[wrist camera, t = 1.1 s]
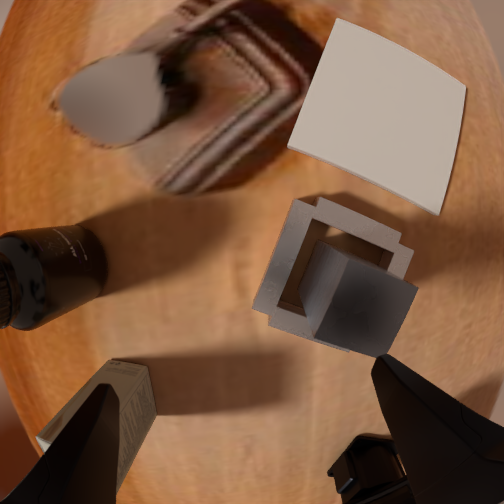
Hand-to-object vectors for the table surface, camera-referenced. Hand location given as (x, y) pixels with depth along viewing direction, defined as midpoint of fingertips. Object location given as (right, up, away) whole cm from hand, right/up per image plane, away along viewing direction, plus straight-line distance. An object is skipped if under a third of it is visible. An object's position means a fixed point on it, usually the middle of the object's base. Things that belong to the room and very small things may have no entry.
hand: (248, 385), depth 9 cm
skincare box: (-11, -9, +16) cm, 21 cm away
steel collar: (+6, +3, +13) cm, 15 cm away
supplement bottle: (-15, +3, +14) cm, 21 cm away
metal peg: (+6, +3, +13) cm, 15 cm away
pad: (+11, +15, +11) cm, 22 cm away
